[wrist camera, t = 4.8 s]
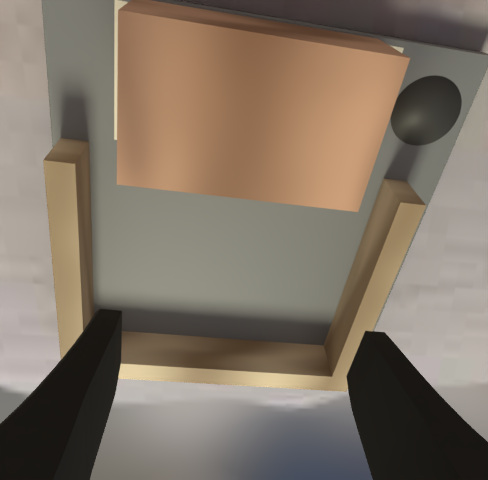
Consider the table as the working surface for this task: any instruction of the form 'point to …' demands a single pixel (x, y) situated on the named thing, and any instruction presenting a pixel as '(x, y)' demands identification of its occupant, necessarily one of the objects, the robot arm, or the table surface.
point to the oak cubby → (221, 349)
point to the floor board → (234, 209)
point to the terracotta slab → (250, 106)
